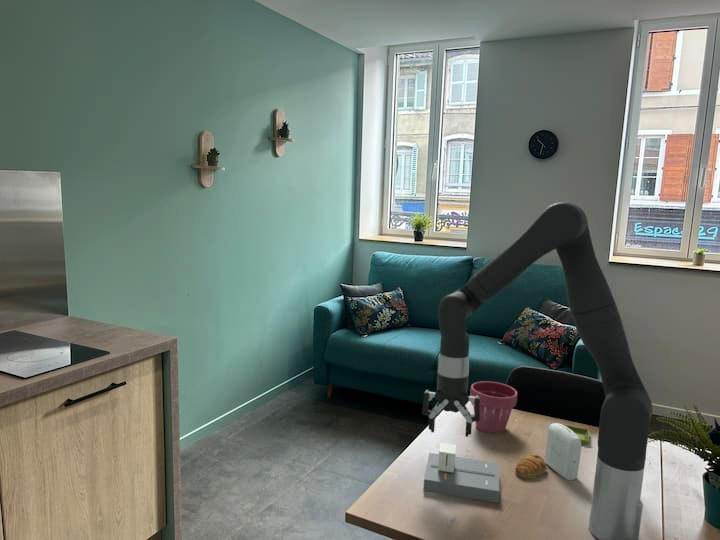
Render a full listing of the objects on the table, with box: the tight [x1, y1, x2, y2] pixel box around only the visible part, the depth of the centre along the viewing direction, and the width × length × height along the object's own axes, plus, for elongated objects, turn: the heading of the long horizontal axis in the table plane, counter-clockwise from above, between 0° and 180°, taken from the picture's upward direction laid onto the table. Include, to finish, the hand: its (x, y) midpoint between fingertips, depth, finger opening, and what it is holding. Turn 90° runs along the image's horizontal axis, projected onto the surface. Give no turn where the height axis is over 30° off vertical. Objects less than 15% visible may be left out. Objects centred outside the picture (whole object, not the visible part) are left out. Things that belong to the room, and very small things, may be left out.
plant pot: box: [469, 380, 518, 434], centre depth 168 cm, size 14×14×13 cm
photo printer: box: [544, 422, 582, 481], centre depth 143 cm, size 10×4×12 cm, turn 17°
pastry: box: [514, 453, 548, 479], centre depth 142 cm, size 9×7×4 cm
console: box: [422, 452, 501, 504], centre depth 136 cm, size 18×14×3 cm
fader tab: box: [438, 442, 457, 473], centre depth 136 cm, size 4×5×5 cm
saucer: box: [562, 424, 590, 445], centre depth 165 cm, size 9×9×2 cm
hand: (449, 433), depth 135 cm, fingers open, 8 cm apart
